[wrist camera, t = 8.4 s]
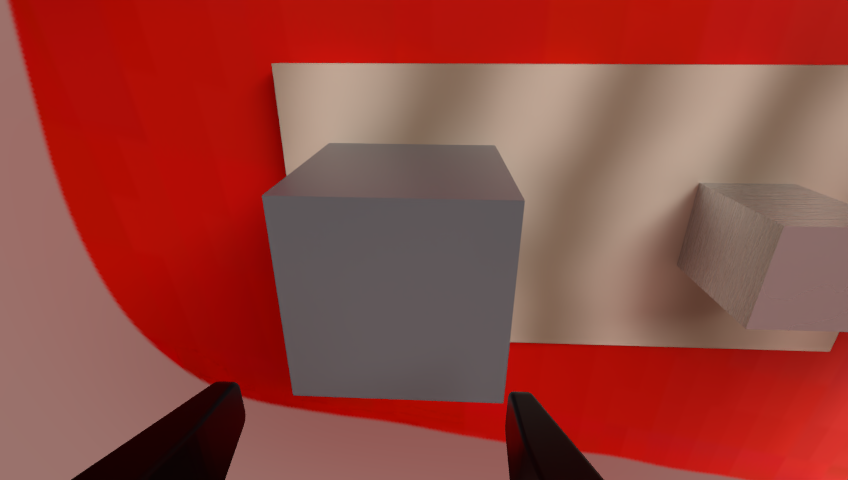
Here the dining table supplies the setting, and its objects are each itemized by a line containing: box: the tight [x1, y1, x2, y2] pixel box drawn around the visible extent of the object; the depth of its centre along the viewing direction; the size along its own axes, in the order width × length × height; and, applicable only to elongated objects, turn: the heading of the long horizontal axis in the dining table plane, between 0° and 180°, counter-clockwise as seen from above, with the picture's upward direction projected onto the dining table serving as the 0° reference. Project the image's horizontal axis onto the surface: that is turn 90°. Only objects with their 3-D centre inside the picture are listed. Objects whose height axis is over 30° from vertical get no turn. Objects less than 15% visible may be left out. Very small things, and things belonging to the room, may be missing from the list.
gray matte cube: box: [262, 143, 525, 403], centre depth 15 cm, size 6×6×7 cm
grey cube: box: [677, 183, 848, 332], centre depth 15 cm, size 4×4×4 cm
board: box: [272, 63, 848, 352], centre depth 18 cm, size 24×12×1 cm, turn 90°
